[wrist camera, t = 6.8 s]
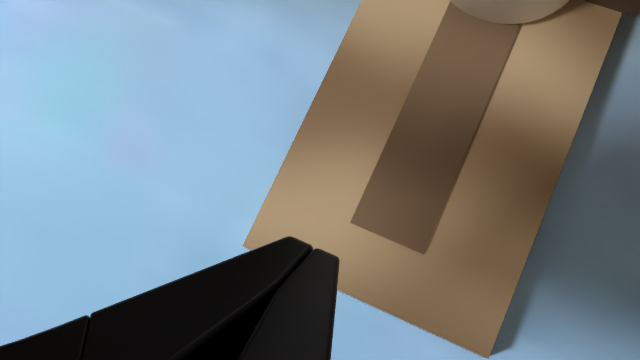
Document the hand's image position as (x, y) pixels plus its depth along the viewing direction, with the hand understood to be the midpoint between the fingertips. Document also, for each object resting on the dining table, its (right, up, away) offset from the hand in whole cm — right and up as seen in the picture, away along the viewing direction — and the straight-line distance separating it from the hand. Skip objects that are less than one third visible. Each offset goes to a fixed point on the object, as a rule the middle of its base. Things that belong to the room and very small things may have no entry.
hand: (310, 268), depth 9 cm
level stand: (+6, +8, +12) cm, 16 cm away
